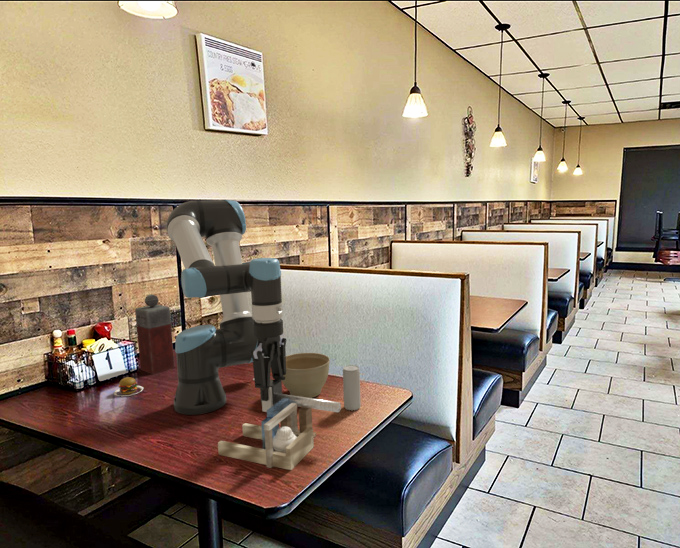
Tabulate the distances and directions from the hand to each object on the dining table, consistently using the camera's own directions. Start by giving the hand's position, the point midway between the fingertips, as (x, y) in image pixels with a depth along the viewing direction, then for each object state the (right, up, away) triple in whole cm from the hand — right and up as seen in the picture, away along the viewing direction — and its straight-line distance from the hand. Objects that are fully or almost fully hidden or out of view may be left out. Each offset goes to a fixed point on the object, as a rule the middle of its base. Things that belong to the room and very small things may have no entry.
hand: (272, 407), depth 125 cm
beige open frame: (0, -8, -9) cm, 12 cm away
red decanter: (-51, -1, +56) cm, 76 cm away
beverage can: (+21, -4, +15) cm, 26 cm away
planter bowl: (+7, -3, +26) cm, 27 cm away
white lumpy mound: (+5, -8, -11) cm, 14 cm away
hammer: (+6, -7, -7) cm, 11 cm away
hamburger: (-51, -5, +33) cm, 61 cm away
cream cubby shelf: (+6, -7, -2) cm, 9 cm away
